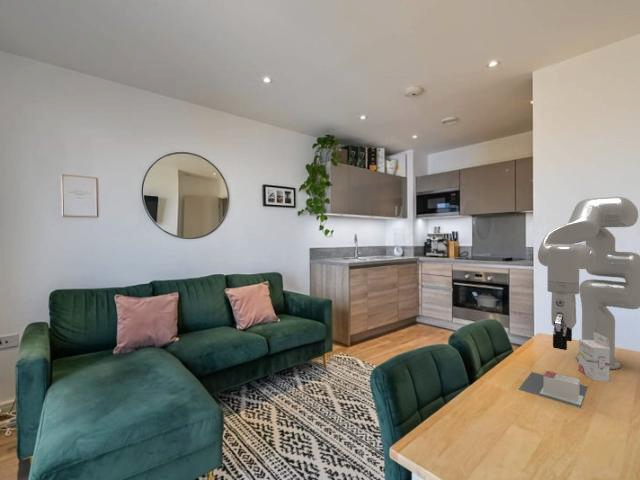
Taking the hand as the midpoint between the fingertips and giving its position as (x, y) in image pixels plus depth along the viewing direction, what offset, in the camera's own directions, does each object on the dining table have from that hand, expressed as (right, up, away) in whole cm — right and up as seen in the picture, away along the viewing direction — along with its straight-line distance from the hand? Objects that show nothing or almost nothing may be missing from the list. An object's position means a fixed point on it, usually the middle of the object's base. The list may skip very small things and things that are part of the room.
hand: (562, 344), depth 95 cm
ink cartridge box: (+21, -16, +13) cm, 29 cm away
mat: (0, -16, +4) cm, 16 cm away
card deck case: (-1, -15, 0) cm, 15 cm away
